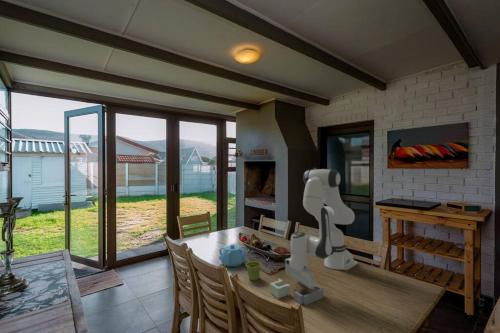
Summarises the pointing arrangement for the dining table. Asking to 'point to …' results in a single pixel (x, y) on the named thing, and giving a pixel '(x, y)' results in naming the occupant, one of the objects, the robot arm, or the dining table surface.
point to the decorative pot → (232, 255)
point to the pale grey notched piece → (279, 289)
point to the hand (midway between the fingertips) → (300, 289)
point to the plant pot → (253, 270)
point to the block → (303, 289)
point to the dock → (309, 296)
